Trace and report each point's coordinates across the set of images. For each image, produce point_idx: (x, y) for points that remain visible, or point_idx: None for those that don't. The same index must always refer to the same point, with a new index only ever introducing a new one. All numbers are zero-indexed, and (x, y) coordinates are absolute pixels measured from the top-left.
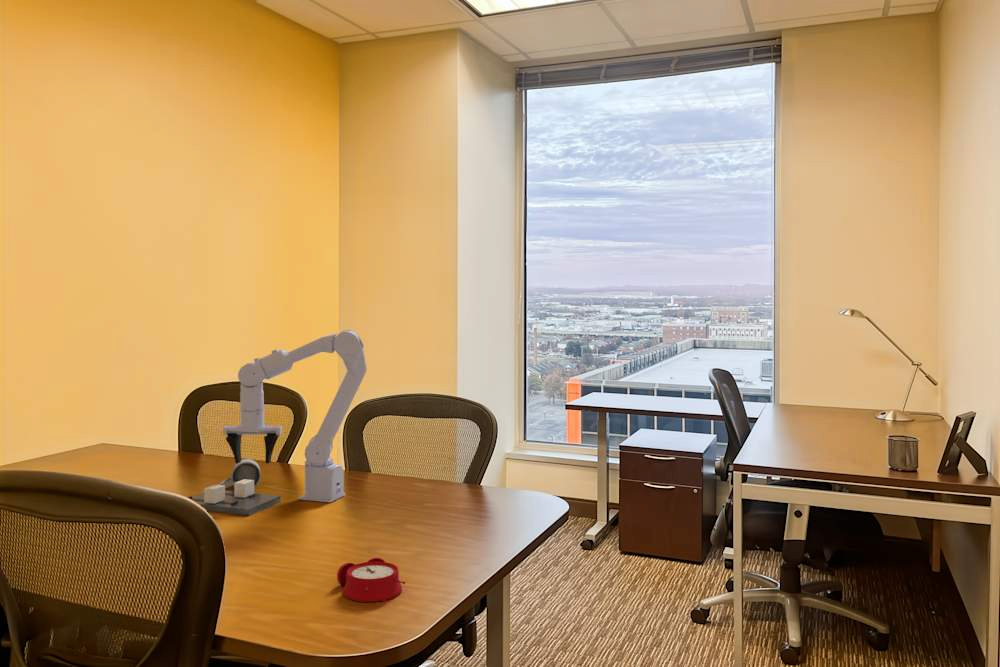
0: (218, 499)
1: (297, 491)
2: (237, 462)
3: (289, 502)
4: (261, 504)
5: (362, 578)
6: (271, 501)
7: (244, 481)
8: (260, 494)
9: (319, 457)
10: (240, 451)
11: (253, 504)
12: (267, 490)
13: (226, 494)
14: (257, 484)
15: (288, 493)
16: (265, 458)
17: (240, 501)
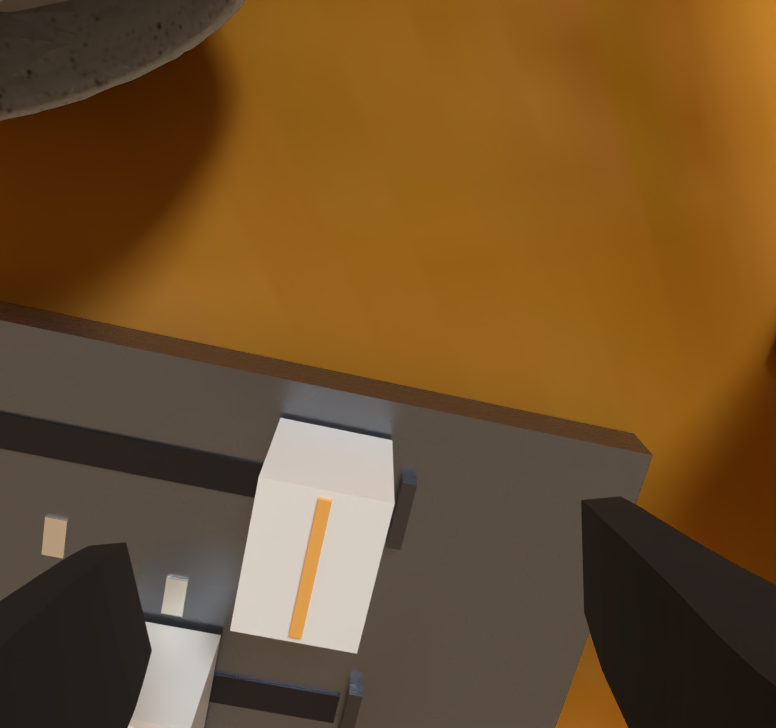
0: (203, 722)
1: (700, 39)
2: (137, 667)
3: (715, 436)
4: (567, 691)
5: None
6: None
7: (314, 577)
8: (448, 429)
9: None
10: (32, 633)
11: (507, 706)
12: (366, 38)
13: (135, 473)
14: (236, 10)
15: (626, 135)
16: (612, 692)
17: (366, 646)
